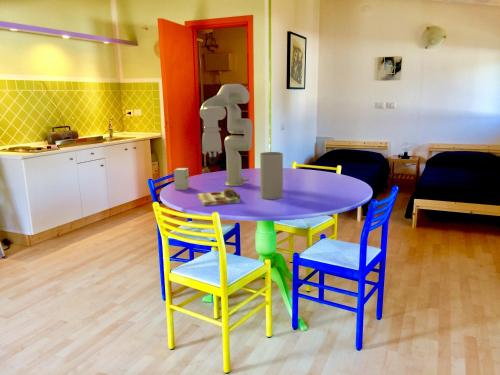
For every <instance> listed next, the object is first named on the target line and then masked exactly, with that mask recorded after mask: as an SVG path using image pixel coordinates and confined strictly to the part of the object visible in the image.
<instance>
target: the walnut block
mask: <svg viewBox="0 0 500 375" xmlns="http://www.w3.org/2000/svg"><path fill="white" fill-rule="evenodd" d="M231 188H232V187H229V188H223V191H224V196H225V197H230V196H233V190H232V189H233V188H232V189H231Z"/></svg>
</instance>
